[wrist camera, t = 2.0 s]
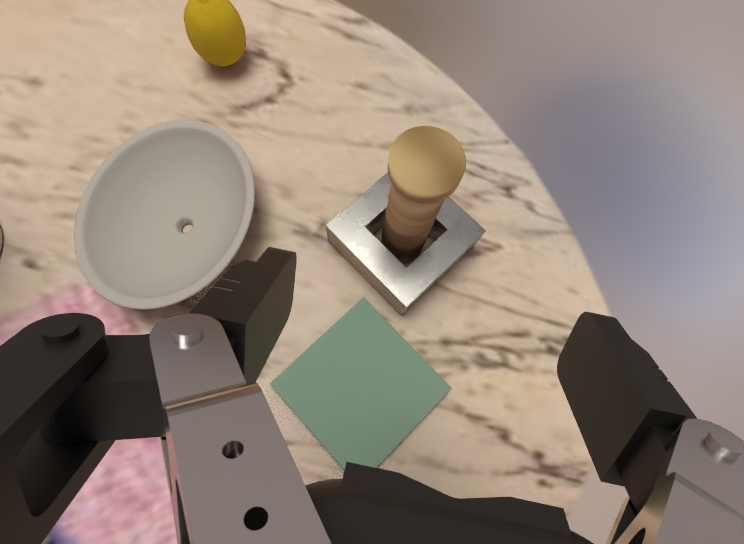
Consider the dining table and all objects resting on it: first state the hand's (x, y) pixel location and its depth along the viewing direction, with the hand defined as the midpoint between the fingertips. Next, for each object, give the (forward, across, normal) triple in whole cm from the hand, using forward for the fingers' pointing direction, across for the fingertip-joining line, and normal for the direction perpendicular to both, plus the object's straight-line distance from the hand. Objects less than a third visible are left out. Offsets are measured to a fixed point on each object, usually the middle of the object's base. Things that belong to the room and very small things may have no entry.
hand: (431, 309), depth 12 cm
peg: (+27, 0, -10) cm, 29 cm away
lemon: (+39, -23, +2) cm, 45 cm away
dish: (+25, -20, -12) cm, 35 cm away
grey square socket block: (+27, 0, -10) cm, 29 cm away
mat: (+18, -1, -20) cm, 27 cm away
